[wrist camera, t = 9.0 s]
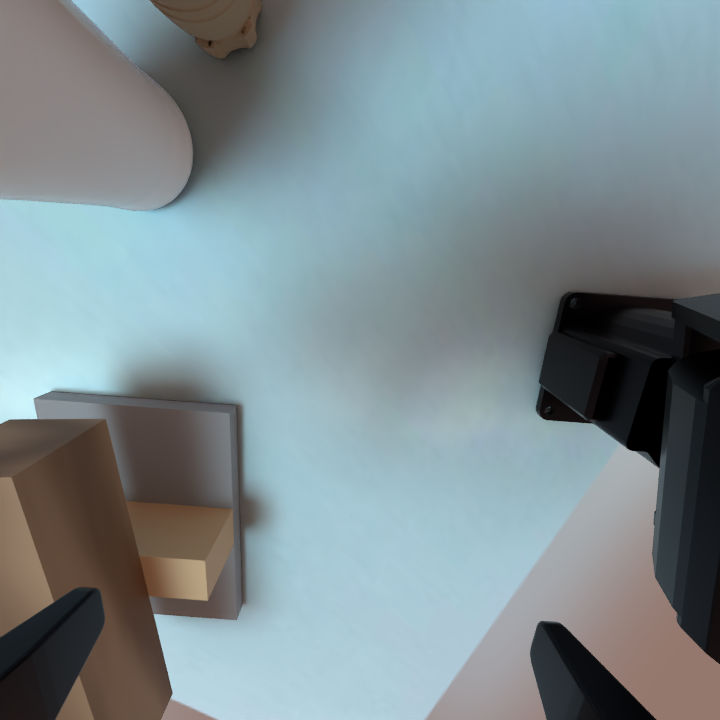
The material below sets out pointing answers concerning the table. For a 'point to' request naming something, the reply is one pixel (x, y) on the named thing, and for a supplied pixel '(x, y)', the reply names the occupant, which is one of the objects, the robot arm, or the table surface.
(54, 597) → the batten
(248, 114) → the table surface
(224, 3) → the handle
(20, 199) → the drinking glass
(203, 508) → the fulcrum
